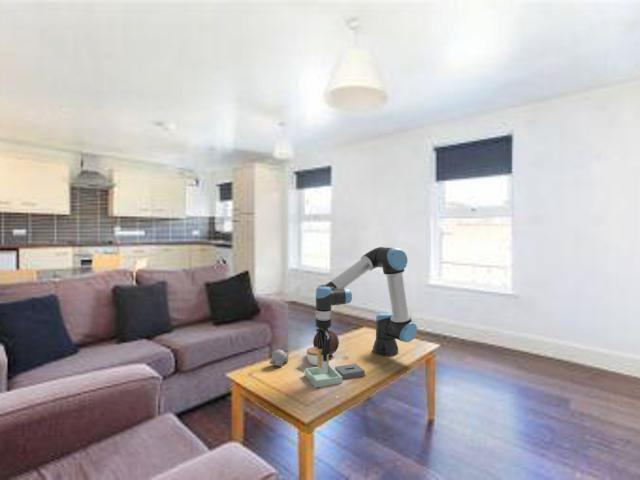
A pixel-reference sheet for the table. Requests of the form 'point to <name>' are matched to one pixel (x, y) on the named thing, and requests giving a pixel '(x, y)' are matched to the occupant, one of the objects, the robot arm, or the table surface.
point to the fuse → (319, 357)
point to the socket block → (350, 371)
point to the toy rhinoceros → (279, 358)
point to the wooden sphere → (333, 342)
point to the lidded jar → (312, 355)
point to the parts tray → (323, 377)
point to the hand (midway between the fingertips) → (323, 365)
